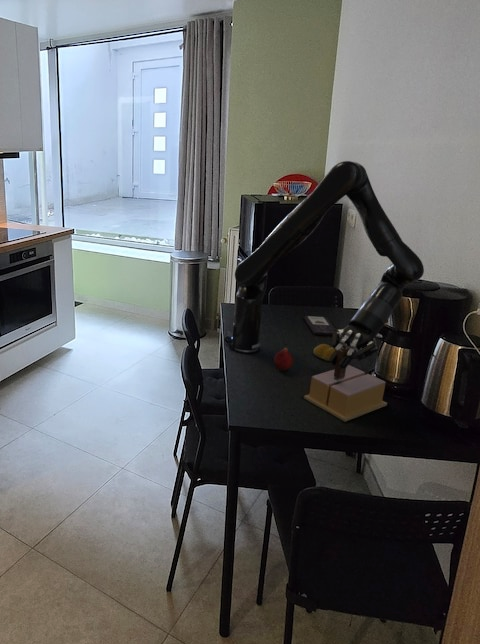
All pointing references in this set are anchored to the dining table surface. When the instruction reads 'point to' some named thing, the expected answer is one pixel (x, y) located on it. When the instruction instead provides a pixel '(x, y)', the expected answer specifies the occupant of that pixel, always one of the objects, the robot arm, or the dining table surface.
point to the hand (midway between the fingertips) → (335, 365)
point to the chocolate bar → (320, 325)
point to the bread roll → (324, 351)
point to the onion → (283, 359)
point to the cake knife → (338, 372)
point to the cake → (347, 393)
